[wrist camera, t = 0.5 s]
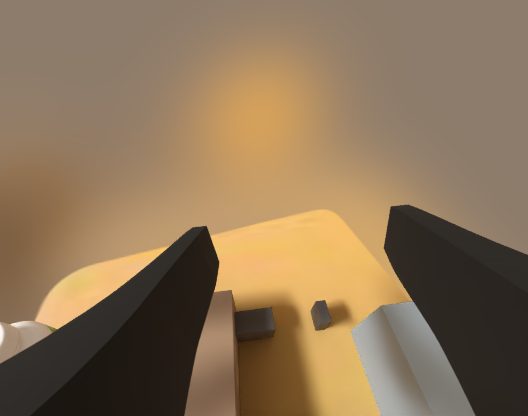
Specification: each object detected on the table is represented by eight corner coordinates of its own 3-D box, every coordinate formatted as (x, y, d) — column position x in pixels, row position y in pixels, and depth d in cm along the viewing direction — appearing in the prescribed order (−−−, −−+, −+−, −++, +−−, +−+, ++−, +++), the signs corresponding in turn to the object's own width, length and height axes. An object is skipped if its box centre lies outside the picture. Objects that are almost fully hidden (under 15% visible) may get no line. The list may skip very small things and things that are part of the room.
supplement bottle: (106, 336, 22) (36, 302, 15) (86, 405, 19) (-19, 404, 12) (48, 345, 22) (-54, 315, 15) (16, 419, 18) (-140, 427, 11)
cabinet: (378, 518, 15) (428, 563, 11) (117, 582, 13) (49, 668, 9) (316, 300, 25) (328, 278, 21) (161, 321, 23) (139, 301, 19)
